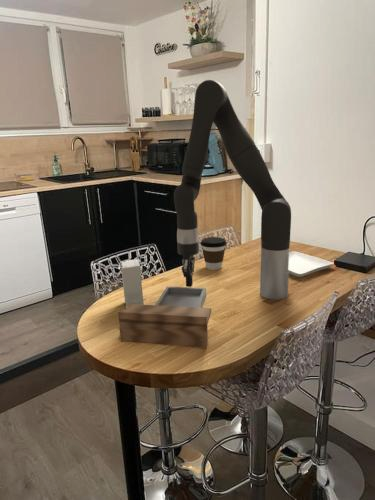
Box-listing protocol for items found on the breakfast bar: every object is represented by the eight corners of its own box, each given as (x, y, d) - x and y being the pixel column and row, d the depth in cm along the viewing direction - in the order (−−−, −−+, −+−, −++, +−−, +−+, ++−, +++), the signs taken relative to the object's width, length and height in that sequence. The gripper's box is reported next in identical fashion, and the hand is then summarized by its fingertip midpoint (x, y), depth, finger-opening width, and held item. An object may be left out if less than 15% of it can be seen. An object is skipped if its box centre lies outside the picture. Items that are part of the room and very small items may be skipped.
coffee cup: (213, 273, 154) (213, 245, 151) (195, 267, 162) (194, 240, 159) (232, 267, 161) (232, 239, 158) (213, 261, 169) (213, 235, 166)
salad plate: (334, 269, 156) (335, 261, 155) (299, 282, 144) (300, 273, 143) (293, 257, 172) (294, 250, 171) (259, 267, 161) (259, 259, 160)
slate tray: (206, 296, 133) (206, 288, 133) (197, 319, 117) (197, 310, 116) (167, 294, 136) (166, 286, 135) (153, 317, 119) (152, 308, 118)
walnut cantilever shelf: (211, 330, 110) (211, 301, 107) (207, 348, 101) (206, 317, 98) (131, 325, 114) (129, 297, 112) (120, 341, 106) (117, 312, 103)
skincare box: (144, 309, 125) (141, 266, 121) (125, 311, 124) (122, 268, 120) (141, 298, 133) (138, 258, 129) (124, 301, 132) (120, 260, 127)
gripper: (195, 245, 128) (196, 293, 133) (201, 235, 140) (202, 279, 145) (173, 245, 129) (175, 292, 134) (181, 235, 142) (183, 279, 147)
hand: (189, 285), depth 140 cm, fingers closed
